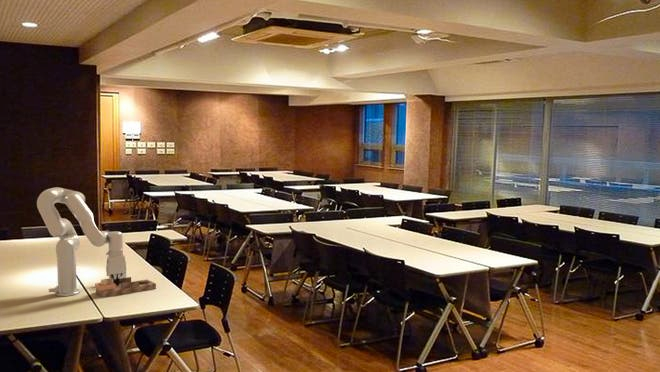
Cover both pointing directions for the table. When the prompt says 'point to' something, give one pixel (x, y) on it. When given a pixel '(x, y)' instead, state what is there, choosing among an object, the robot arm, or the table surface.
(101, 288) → the sled
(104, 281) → the maple cube
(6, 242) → the table surface
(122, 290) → the track
